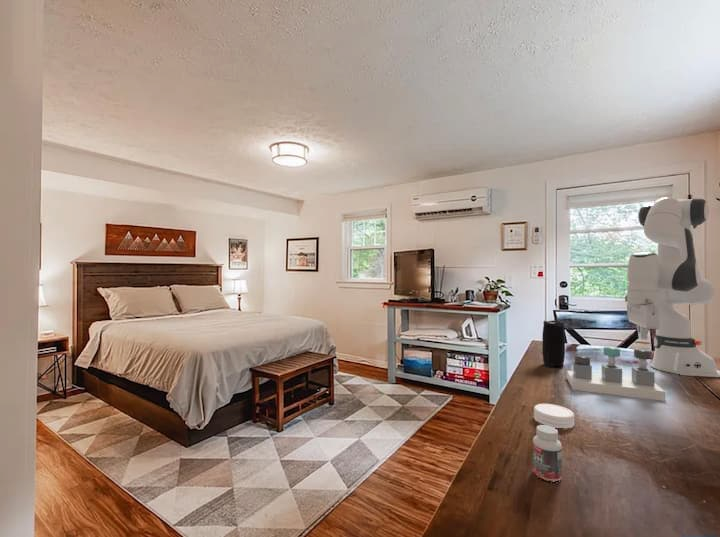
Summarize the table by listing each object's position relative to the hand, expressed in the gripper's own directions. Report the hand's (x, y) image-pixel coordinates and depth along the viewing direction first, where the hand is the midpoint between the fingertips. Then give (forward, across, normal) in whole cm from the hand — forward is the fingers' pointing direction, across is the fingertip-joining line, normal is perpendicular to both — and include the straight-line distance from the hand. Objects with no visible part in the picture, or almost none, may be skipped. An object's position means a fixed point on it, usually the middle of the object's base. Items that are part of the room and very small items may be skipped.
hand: (642, 338), depth 122 cm
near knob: (+11, 0, 0) cm, 11 cm away
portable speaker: (+19, +25, +25) cm, 40 cm away
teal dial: (+11, 0, +9) cm, 14 cm away
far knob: (+15, 0, +18) cm, 23 cm away
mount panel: (+19, 0, +9) cm, 21 cm away
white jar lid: (+20, -39, +31) cm, 53 cm away
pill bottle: (+20, -69, +35) cm, 79 cm away
